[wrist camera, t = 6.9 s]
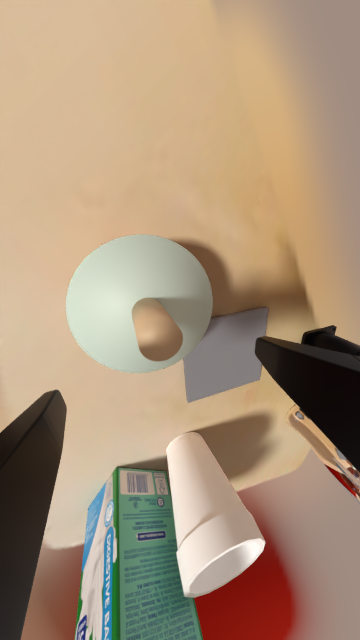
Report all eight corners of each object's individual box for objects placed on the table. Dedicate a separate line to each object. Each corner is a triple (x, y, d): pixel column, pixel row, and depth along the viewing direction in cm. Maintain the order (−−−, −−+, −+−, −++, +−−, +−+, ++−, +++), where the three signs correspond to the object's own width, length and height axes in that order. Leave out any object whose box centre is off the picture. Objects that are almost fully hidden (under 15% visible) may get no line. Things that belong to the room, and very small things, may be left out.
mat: (265, 306, 25) (268, 308, 24) (257, 377, 30) (259, 379, 29) (180, 324, 22) (181, 326, 21) (186, 399, 27) (188, 402, 26)
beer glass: (286, 405, 35) (387, 501, 22) (314, 395, 37) (423, 478, 24) (280, 430, 38) (368, 528, 25) (306, 419, 40) (401, 506, 27)
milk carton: (139, 506, 33) (187, 1048, 11) (87, 507, 29) (-6, 1386, 7) (166, 470, 31) (286, 1008, 9) (116, 466, 27) (118, 1404, 5)
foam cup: (145, 450, 28) (165, 594, 16) (196, 415, 28) (249, 530, 17) (175, 473, 32) (207, 599, 21) (218, 442, 33) (273, 548, 22)
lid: (207, 229, 15) (255, 221, 10) (209, 351, 19) (243, 389, 14) (43, 242, 12) (-11, 240, 7) (92, 382, 17) (81, 443, 11)
